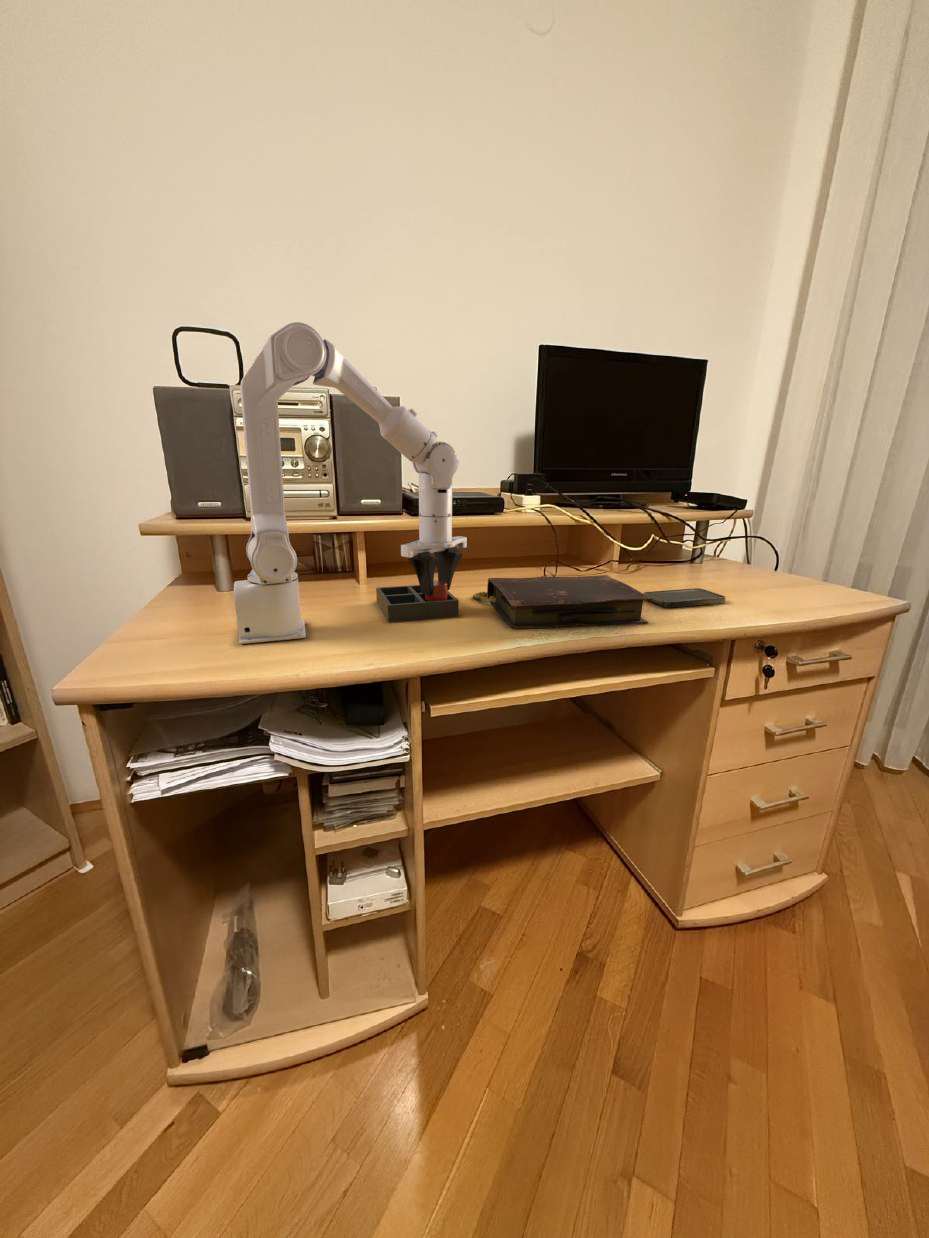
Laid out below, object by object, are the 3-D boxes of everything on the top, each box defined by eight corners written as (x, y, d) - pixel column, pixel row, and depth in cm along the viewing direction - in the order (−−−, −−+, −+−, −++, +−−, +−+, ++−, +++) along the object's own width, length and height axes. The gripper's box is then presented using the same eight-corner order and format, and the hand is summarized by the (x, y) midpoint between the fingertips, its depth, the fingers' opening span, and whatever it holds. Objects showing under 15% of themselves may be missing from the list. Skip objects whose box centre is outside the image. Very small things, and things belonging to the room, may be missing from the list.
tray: (388, 622, 84) (387, 605, 83) (376, 602, 95) (376, 587, 95) (458, 616, 88) (458, 600, 87) (439, 597, 99) (439, 583, 98)
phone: (641, 592, 101) (700, 587, 106) (640, 597, 102) (699, 592, 106) (666, 602, 94) (729, 597, 98) (665, 608, 95) (727, 602, 99)
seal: (470, 612, 95) (548, 614, 93) (469, 590, 93) (549, 591, 91) (475, 595, 104) (546, 597, 102) (474, 574, 102) (547, 575, 100)
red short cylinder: (428, 602, 87) (428, 586, 86) (422, 596, 90) (422, 581, 89) (449, 601, 88) (450, 584, 87) (443, 595, 92) (443, 579, 91)
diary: (486, 599, 98) (487, 575, 96) (602, 596, 102) (605, 572, 101) (511, 633, 81) (513, 604, 79) (650, 627, 85) (654, 599, 83)
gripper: (421, 520, 77) (422, 603, 81) (480, 514, 87) (478, 588, 91) (391, 517, 81) (394, 595, 85) (451, 511, 92) (450, 581, 96)
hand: (435, 591), depth 89 cm, fingers closed on red short cylinder, 4 cm apart
